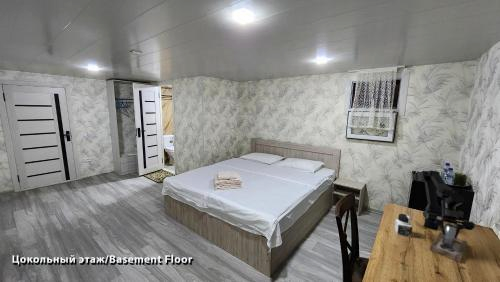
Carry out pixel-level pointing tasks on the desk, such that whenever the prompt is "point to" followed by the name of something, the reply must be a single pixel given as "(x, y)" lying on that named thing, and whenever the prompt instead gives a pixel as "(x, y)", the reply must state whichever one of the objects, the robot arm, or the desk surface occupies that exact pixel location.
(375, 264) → the desk surface
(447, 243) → the steel peg
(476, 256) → the desk surface
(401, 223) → the medicine bottle
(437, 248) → the bore block
